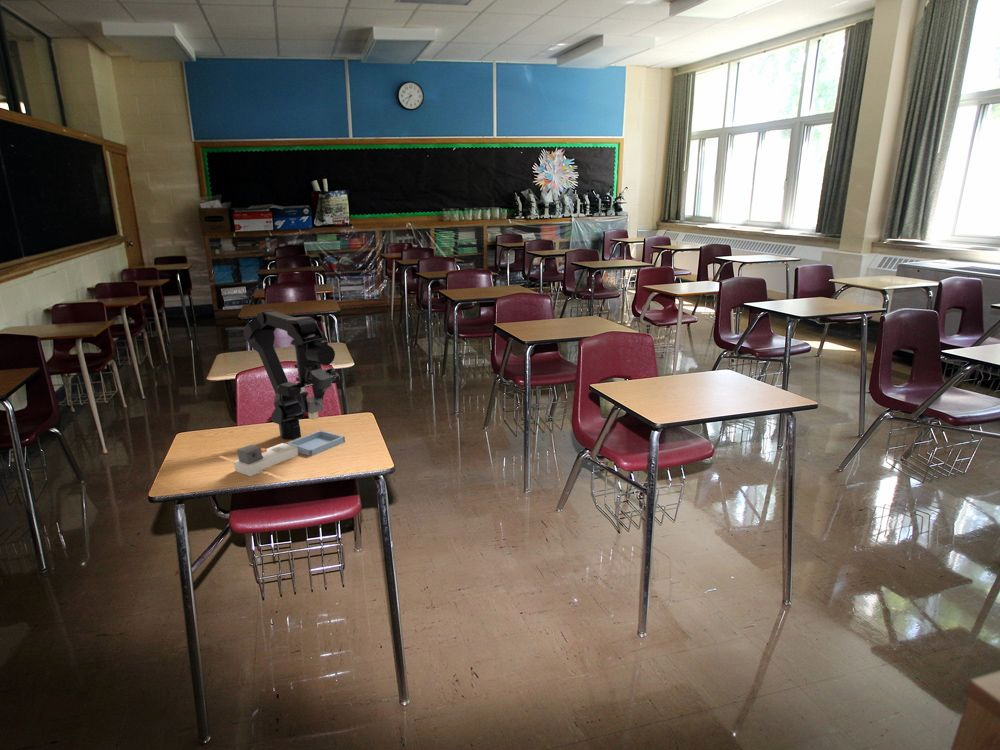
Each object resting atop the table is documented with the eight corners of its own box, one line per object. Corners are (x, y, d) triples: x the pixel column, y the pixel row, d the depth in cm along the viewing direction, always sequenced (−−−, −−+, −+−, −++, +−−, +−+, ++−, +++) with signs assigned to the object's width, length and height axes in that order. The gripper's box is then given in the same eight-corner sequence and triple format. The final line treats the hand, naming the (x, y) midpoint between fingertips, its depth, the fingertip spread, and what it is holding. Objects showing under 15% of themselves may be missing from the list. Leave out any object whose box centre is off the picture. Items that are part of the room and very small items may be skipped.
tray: (287, 450, 189) (286, 443, 188) (321, 437, 199) (321, 430, 198) (311, 457, 183) (310, 450, 182) (345, 443, 193) (344, 436, 192)
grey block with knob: (303, 419, 188) (300, 400, 186) (314, 415, 191) (312, 396, 190) (316, 422, 184) (314, 403, 183) (328, 418, 188) (326, 399, 186)
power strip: (235, 471, 175) (232, 449, 173) (283, 452, 188) (280, 432, 186) (255, 478, 170) (251, 456, 168) (303, 458, 182) (300, 437, 181)
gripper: (297, 371, 172) (304, 424, 176) (349, 356, 186) (354, 406, 190) (273, 366, 178) (280, 417, 182) (325, 352, 193) (330, 400, 197)
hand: (312, 410), depth 188 cm, fingers closed on grey block with knob, 4 cm apart
